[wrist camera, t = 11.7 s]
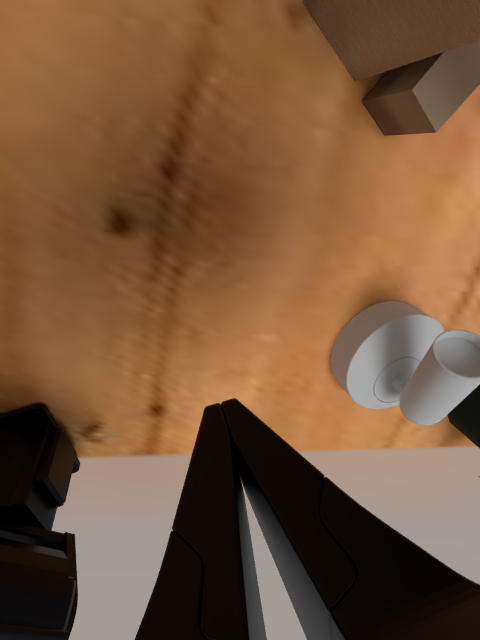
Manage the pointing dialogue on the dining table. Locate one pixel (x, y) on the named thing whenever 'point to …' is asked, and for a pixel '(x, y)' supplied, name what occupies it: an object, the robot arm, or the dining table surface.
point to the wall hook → (405, 362)
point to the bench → (424, 91)
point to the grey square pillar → (394, 30)
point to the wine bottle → (468, 416)
